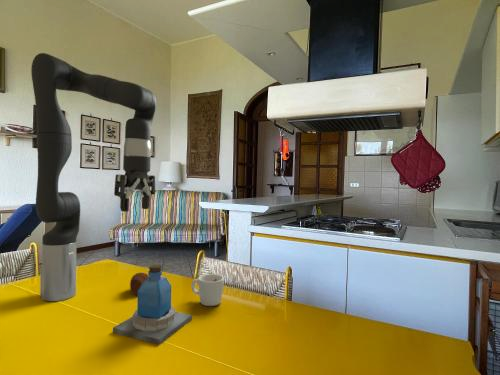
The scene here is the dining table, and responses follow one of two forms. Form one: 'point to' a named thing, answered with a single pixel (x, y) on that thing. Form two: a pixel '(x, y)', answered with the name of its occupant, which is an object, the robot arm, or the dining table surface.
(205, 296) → the cup
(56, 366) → the dining table surface
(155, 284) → the perfume bottle
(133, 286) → the potato
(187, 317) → the ring block
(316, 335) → the dining table surface
